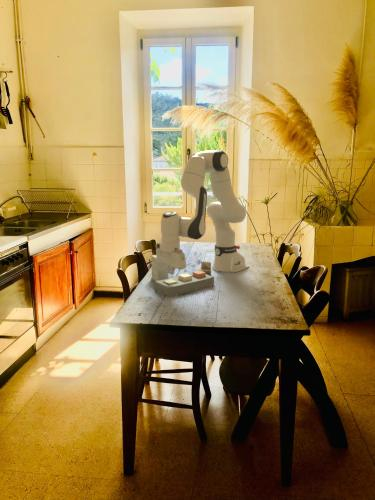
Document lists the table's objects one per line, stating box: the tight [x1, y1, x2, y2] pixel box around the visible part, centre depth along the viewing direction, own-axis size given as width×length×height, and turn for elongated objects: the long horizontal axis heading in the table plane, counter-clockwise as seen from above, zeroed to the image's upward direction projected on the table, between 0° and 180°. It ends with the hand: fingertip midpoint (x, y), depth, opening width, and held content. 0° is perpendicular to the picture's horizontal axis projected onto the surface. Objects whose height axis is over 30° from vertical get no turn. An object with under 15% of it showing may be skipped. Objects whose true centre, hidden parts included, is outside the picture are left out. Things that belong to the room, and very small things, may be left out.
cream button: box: [178, 273, 192, 282], centre depth 196 cm, size 5×5×4 cm
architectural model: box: [197, 261, 212, 276], centre depth 218 cm, size 3×7×7 cm, turn 77°
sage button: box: [163, 279, 177, 285], centre depth 191 cm, size 5×5×4 cm
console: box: [154, 272, 215, 298], centre depth 197 cm, size 28×12×4 cm, turn 127°
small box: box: [151, 254, 169, 282], centre depth 208 cm, size 8×6×13 cm
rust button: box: [192, 270, 206, 278], centre depth 201 cm, size 5×5×4 cm
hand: (171, 273), depth 190 cm, fingers closed
